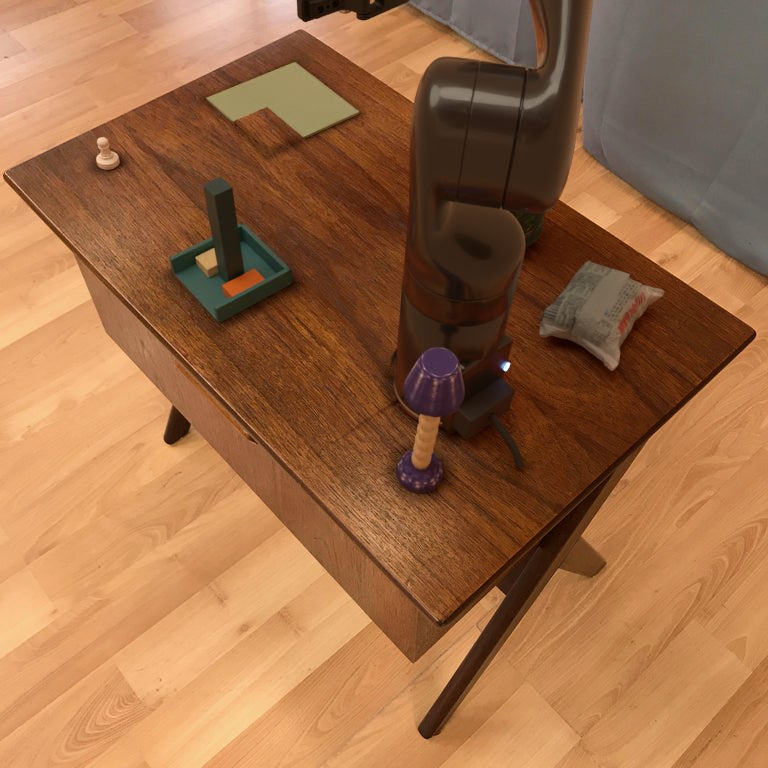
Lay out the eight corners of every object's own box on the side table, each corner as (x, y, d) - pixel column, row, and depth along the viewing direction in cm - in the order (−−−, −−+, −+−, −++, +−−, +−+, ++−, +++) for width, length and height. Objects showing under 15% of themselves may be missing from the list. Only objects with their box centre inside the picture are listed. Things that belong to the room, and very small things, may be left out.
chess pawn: (92, 165, 94) (85, 140, 91) (107, 153, 95) (100, 129, 93) (109, 173, 93) (102, 148, 90) (124, 161, 95) (117, 136, 92)
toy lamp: (457, 477, 71) (484, 360, 57) (422, 509, 69) (440, 397, 55) (418, 443, 73) (435, 324, 59) (382, 474, 70) (391, 357, 57)
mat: (359, 114, 102) (359, 111, 102) (269, 155, 96) (268, 152, 96) (295, 64, 108) (295, 61, 108) (206, 100, 103) (206, 97, 102)
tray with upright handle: (292, 287, 84) (285, 192, 74) (219, 326, 80) (201, 232, 70) (244, 239, 88) (231, 143, 77) (173, 275, 84) (149, 179, 74)
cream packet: (241, 261, 85) (239, 253, 84) (208, 278, 83) (207, 270, 82) (228, 249, 86) (227, 240, 85) (196, 265, 84) (194, 256, 83)
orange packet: (268, 289, 82) (267, 281, 81) (235, 306, 81) (234, 298, 80) (255, 276, 83) (254, 268, 83) (222, 293, 82) (221, 285, 81)
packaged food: (656, 310, 84) (671, 276, 80) (608, 382, 78) (621, 350, 74) (581, 275, 86) (592, 241, 83) (529, 342, 80) (538, 309, 77)
